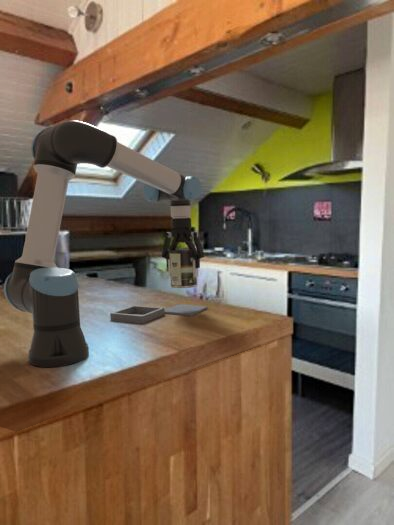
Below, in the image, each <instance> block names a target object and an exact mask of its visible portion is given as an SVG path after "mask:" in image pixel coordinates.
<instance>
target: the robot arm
mask: <svg viewBox="0 0 394 525" xmlns="http://www.w3.org/2000/svg"><path fill="white" fill-rule="evenodd" d="M30 152H31V155H32V157H33V159H34V162H33V167H32V168H33V169H34V171H35V172H36V173H37V177H36V181H35V187H34V193H33V198H32V203H31V208H30V214H29V218H28V222H27V223H28V224H27V229H26V233H25V239H24V240H25V241H24V245H23V249H22V250H23V251H22V255H21V257H19V258H18V259H16V260H15V262H14V266H13V270H12V272H11V273H10V274H9V275H8V276H7V277H6V279H5V281H4V284H3V293H4V297H5V300H6V301H7V302H8V303H9V305H11V306H12V307H14V308H15V309H17V310H19V311H21V312H26V313H30V314H32V325H33V333H32V334H33V335H32V338H31V343H30V348H29V350H28V354H27V355H28V363H29V364H30V365H32V366H34V367H41V368H53V367H54V368H55V367H57V368H58V367H64V366H68V365H72V364H75V363H78V362H81V361H83V360H85V359H86V358H88V356H89V354H90V351H89V350H90V349H89V344H88V342H86V337H85V335H84V333H83V330H82V327H81V319H80V317H81V316H80V299H79V297H80V296H79V283H78V282H79V281H78V277H77V273H75V271H73V270H72V269H69V268H65V267H58V266H57V264H56V263H55V256H56V251H57V245H58V240H59V239H58V238H59V235H60V230H61V224H62V219H63V212H64V207H65V203H66V197H67V191H68V186H69V182H70V181H71V180H73V179H74V178H76V173H77V168H78V165H80V164H86V165H87V164H88V165H94V166H96V167H99V168H102V169H104V168H110V169H113V171H116V172H119V173H121V174H123V175H126V177H127V176H128V177H130V178H133V179H135V180H137V181H138V182H141V183H143V186H142V196H143V199H144V200H146V201H147V202H150V203H151V202H152V203H158V202H159V203H161V202H162V203H165V202H168V203H170V217H171V219H170V225H171V226H170V227H171V232H170V231H166V232H164V243H163V247H162V251H161V252H162V253H161V258H163V259H165V261H166V267H167V269H168V277H170V258H169V250H175V249H177V246H178V245H179V243H182V244H183V243H184V244H185V245H186V246H187V247H188V248H189V250H192V255H193V257H194V260H193V277H197V278H198V277H199V269H200V267H201V259H203V258H205V253H204V250H203V246H202V243H201V239H200V231H192V219H191V216H192V210H191V208H192V207H191V200H195V199H198V198H199V197H200V196H201V195H202V189H203V185H202V182H201V180H200V179H199V178H198V177H197V176H194V175H193V176H191V175H183V174H181V173H179V172H177V171H175V170H173V169H171V168H169V167H167V166H166V165H163V164H161V163H159V162H157V161H155V160H154V159H152V158H150V157H148V156H146V155H144V154H142V153H141V152H138V151H136V150H134V149H132V148H130V147H129V146H126V145H125V144H123V143H120V142H118V138H117V137H116V136H115V135H113V134H111V133H109V132H107V131H105V130H104V129H101V128H99V127H97V126H96V125H95V126H94V125H92V124H90V123H87V122H85V121H84V122H83V121H81V120H80V121H79V120H72V119H71V120H66V121H63V122H61V123H59V124H55V125H52V126H48V127H45V128H43V129H42V130H41V131H39V132H38V133H37V134H36V135H35V136H34V138H33V139H32V142H31V145H30ZM191 237H192V238H191ZM192 239H193V240H192ZM193 242H194V243H193Z"/></svg>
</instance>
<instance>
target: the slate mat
mask: <svg viewBox="0 0 394 525" xmlns="http://www.w3.org/2000/svg"><path fill="white" fill-rule="evenodd" d="M207 309H208V306H207V305H206V306H205V305H193V304H192V305H191V304H190V305H189V304H180V303H179V304H176V305H173V306H171V307H168V308H164V311H165V314H166V315H167V314H168V315H176V316H177V315H178V316H187V317H192V316H195V315H196V314H199V313H201V312H203V311H206V310H207Z"/></svg>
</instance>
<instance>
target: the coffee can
mask: <svg viewBox="0 0 394 525" xmlns="http://www.w3.org/2000/svg"><path fill="white" fill-rule="evenodd" d="M169 258H170V276H169V279H170V280H169V281H170V288H172V289H173V288H174V289H190V288H195V287H198V277H193V260H194V257H193V255H192V250H189V248H185V247H183V248H176V249H175V250H169Z"/></svg>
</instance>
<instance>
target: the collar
mask: <svg viewBox="0 0 394 525" xmlns="http://www.w3.org/2000/svg"><path fill="white" fill-rule="evenodd" d="M164 310H165V307H157V306H143V305H130V306H128V307H125V308H122V309H118V310H115V311H113V312H110V317H109V318H110V321H116V322H117V321H118V322H126V323H135V324H145V323H147V322H150V321H152V320H155V319H157V318H160V317H163V316H164V315H165V311H164ZM134 313H135V314H134ZM139 314H142V315H139Z"/></svg>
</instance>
